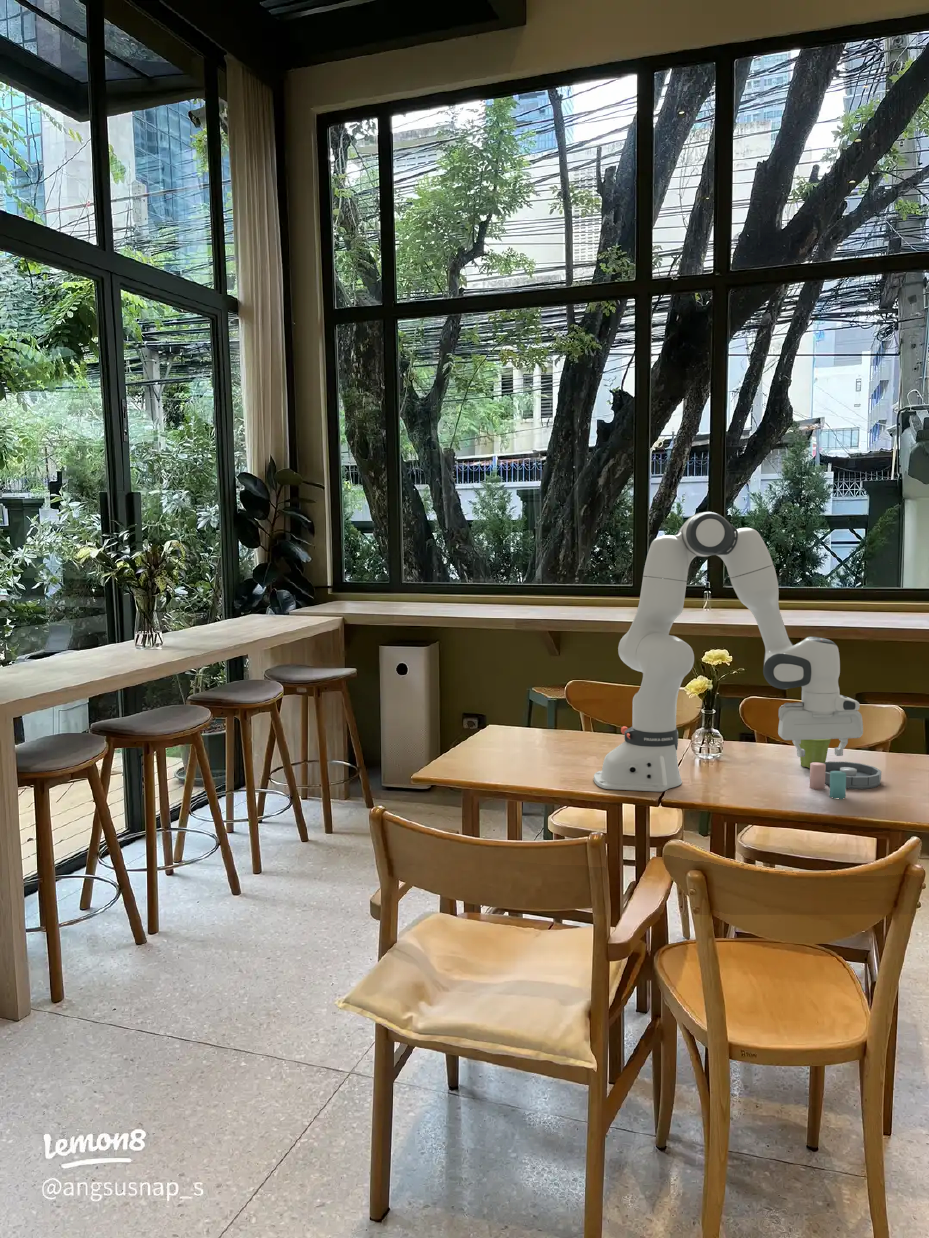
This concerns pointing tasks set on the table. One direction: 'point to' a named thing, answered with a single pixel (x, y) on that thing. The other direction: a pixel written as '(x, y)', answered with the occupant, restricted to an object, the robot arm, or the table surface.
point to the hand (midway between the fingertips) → (819, 755)
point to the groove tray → (860, 779)
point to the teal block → (837, 784)
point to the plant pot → (814, 751)
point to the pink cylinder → (817, 775)
